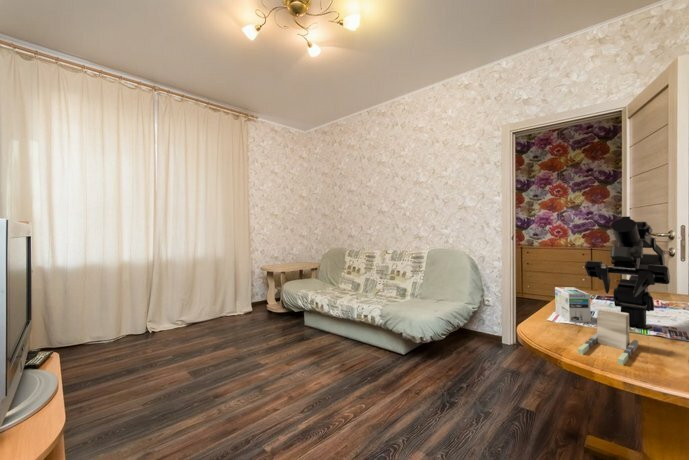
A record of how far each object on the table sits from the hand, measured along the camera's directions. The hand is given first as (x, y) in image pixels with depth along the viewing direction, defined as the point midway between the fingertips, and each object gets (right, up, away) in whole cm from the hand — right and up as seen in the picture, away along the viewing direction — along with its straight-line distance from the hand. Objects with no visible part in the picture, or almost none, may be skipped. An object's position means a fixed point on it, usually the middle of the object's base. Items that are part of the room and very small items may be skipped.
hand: (620, 294), depth 91 cm
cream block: (-6, -13, -5) cm, 15 cm away
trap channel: (-10, -14, -8) cm, 19 cm away
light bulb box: (0, -13, +19) cm, 23 cm away
